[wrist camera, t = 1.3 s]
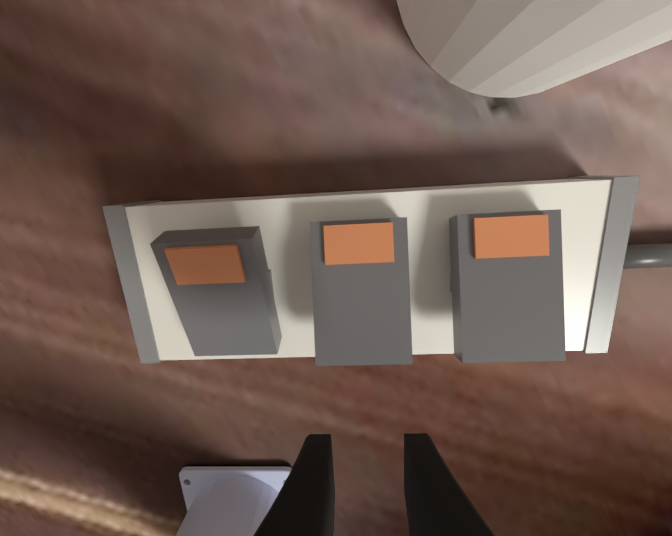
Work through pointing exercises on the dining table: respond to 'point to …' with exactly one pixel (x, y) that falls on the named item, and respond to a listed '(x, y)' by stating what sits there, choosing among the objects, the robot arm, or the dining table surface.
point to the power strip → (423, 250)
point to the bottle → (530, 39)
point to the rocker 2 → (361, 292)
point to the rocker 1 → (220, 289)
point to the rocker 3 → (507, 286)
